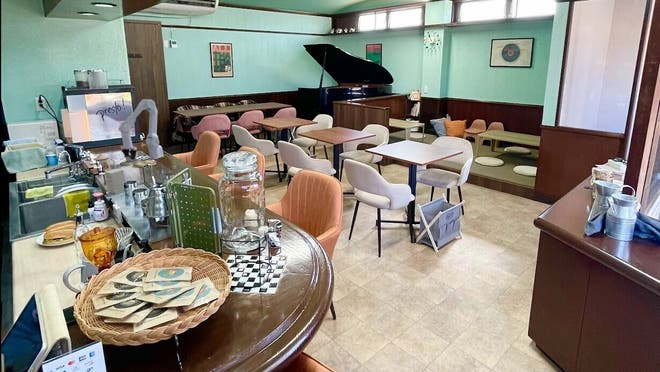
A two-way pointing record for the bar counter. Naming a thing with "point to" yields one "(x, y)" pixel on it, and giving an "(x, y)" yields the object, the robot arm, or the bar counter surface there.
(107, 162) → the teacup with lid
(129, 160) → the block
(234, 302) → the bar counter surface
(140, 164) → the stand
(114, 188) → the supplement box
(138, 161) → the stand
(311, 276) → the bar counter surface
